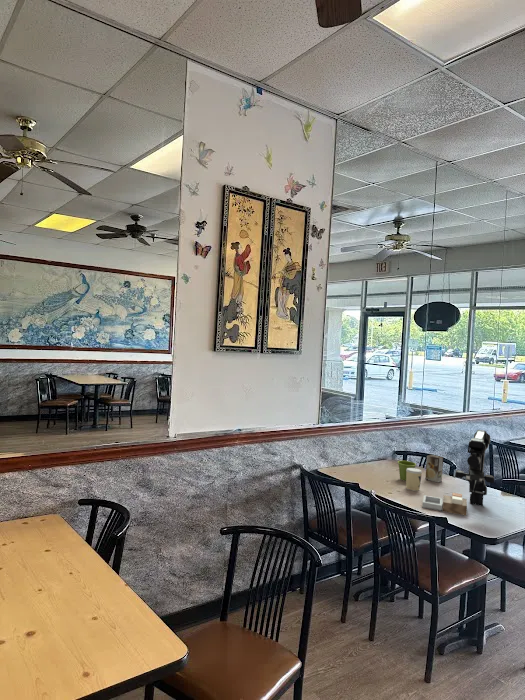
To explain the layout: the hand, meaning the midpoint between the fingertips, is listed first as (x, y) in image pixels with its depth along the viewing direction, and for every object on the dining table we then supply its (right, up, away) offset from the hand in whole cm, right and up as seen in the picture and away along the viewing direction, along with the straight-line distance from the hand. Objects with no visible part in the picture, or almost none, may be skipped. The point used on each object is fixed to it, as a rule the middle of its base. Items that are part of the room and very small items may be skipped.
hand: (472, 492), depth 262 cm
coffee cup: (-20, -10, +41) cm, 46 cm away
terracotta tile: (-5, -6, +9) cm, 12 cm away
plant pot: (-18, -10, +60) cm, 64 cm away
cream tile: (-7, -6, +3) cm, 10 cm away
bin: (-18, -11, +11) cm, 24 cm away
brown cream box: (-7, -11, +7) cm, 15 cm away
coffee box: (+1, -11, +64) cm, 65 cm away
